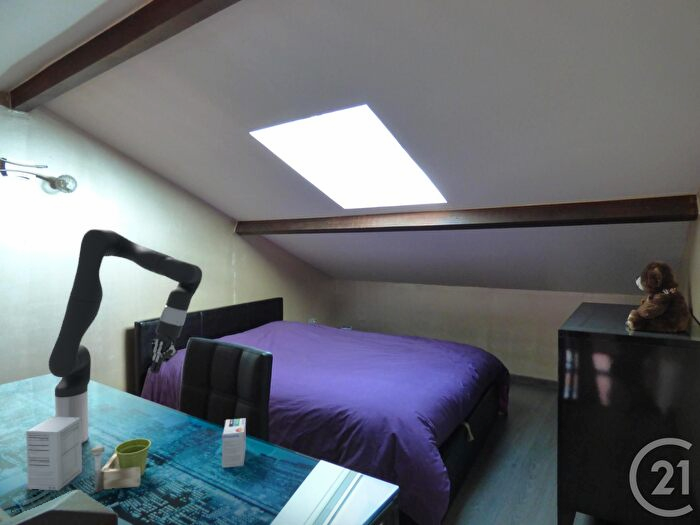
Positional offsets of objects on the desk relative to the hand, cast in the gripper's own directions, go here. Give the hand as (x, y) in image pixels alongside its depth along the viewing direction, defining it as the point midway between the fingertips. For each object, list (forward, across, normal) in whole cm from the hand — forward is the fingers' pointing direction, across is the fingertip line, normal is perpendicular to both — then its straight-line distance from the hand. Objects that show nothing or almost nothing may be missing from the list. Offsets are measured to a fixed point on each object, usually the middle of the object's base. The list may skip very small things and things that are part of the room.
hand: (153, 372), depth 127 cm
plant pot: (+28, +10, -2) cm, 30 cm away
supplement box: (+34, -5, -15) cm, 38 cm away
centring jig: (+29, +10, -8) cm, 32 cm away
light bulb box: (+19, +28, +19) cm, 38 cm away
